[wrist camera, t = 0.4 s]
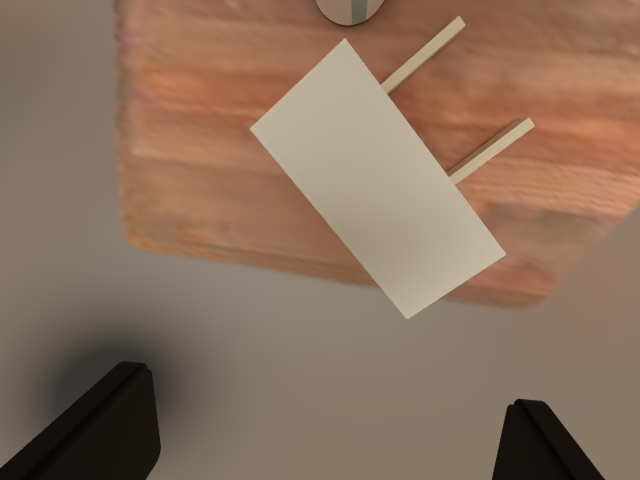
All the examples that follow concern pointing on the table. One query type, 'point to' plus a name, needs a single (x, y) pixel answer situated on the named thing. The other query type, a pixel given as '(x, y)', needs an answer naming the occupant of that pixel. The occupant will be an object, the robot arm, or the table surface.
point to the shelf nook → (383, 176)
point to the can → (348, 10)
